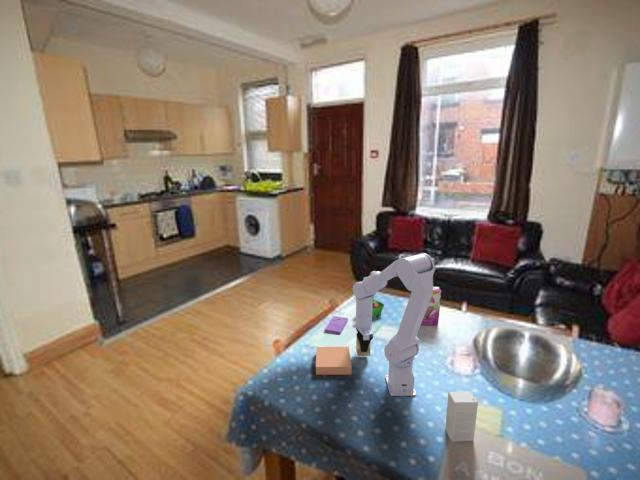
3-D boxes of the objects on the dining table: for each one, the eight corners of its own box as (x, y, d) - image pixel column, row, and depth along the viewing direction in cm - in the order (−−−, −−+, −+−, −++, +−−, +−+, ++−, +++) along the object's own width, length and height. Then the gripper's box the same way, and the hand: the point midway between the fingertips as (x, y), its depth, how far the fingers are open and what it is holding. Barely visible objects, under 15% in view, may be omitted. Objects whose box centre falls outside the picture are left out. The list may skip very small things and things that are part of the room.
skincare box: (466, 428, 90) (471, 390, 87) (473, 441, 86) (479, 402, 83) (444, 429, 90) (448, 391, 87) (450, 442, 85) (455, 403, 82)
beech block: (370, 355, 119) (370, 340, 117) (357, 355, 119) (357, 340, 117) (368, 348, 123) (368, 334, 122) (356, 348, 123) (356, 334, 122)
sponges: (348, 321, 148) (348, 317, 148) (340, 335, 137) (340, 331, 136) (333, 319, 151) (333, 315, 150) (324, 332, 139) (324, 328, 139)
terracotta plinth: (351, 374, 112) (351, 366, 111) (315, 374, 112) (315, 366, 111) (348, 353, 124) (348, 346, 123) (316, 353, 124) (316, 346, 123)
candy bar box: (412, 325, 144) (414, 289, 140) (410, 319, 149) (412, 285, 144) (438, 326, 143) (442, 290, 139) (436, 320, 148) (439, 286, 143)
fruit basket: (366, 322, 147) (367, 298, 144) (353, 314, 154) (354, 291, 151) (384, 314, 153) (385, 292, 150) (371, 307, 160) (372, 286, 157)
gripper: (350, 304, 124) (350, 336, 128) (354, 323, 110) (354, 359, 114) (369, 304, 124) (368, 336, 128) (376, 323, 110) (374, 359, 113)
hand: (363, 347), depth 121 cm, fingers closed on beech block, 4 cm apart
